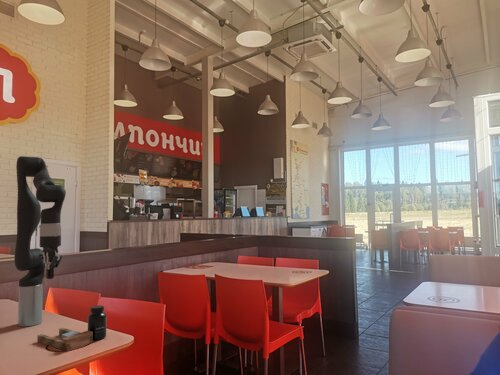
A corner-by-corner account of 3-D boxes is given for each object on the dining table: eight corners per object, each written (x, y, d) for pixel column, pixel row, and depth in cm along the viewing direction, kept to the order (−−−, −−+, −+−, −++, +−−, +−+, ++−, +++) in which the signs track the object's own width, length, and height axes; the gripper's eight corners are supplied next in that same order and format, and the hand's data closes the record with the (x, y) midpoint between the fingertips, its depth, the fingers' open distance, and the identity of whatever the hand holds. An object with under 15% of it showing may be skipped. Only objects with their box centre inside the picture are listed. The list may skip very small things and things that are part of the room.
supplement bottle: (99, 341, 139) (99, 309, 140) (83, 340, 141) (83, 308, 141) (110, 335, 146) (109, 304, 147) (94, 334, 147) (94, 304, 148)
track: (37, 341, 141) (37, 331, 141) (62, 334, 149) (62, 324, 149) (67, 351, 130) (67, 339, 130) (92, 342, 138) (92, 331, 139)
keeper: (61, 345, 137) (61, 334, 137) (74, 341, 141) (74, 330, 141) (68, 348, 134) (68, 336, 134) (81, 343, 138) (81, 332, 138)
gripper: (32, 235, 147) (31, 278, 146) (50, 235, 140) (49, 281, 139) (50, 233, 153) (50, 275, 152) (69, 234, 146) (68, 278, 145)
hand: (50, 278), depth 145 cm, fingers closed
